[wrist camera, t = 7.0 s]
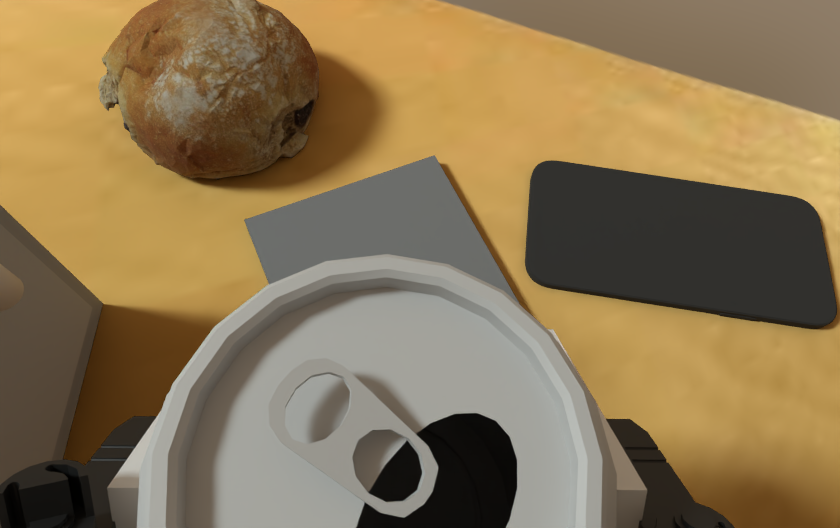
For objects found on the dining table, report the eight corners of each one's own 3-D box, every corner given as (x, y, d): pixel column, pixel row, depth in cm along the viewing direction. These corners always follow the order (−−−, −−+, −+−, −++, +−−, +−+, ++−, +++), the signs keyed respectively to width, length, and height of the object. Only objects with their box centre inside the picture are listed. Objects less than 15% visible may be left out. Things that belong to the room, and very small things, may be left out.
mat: (433, 162, 31) (434, 155, 30) (527, 327, 27) (530, 322, 27) (246, 226, 29) (244, 219, 28) (321, 418, 25) (320, 414, 24)
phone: (533, 155, 31) (816, 198, 31) (529, 165, 32) (806, 206, 32) (525, 281, 28) (842, 330, 28) (521, 288, 29) (830, 336, 29)
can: (410, 726, 16) (450, 1043, 5) (211, 546, 18) (-53, 519, 7) (550, 491, 19) (753, 397, 8) (366, 355, 21) (342, 136, 10)
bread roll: (256, 235, 33) (301, 174, 26) (60, 144, 29) (55, 46, 22) (315, 102, 37) (367, 21, 30) (151, 9, 34) (169, -105, 27)
